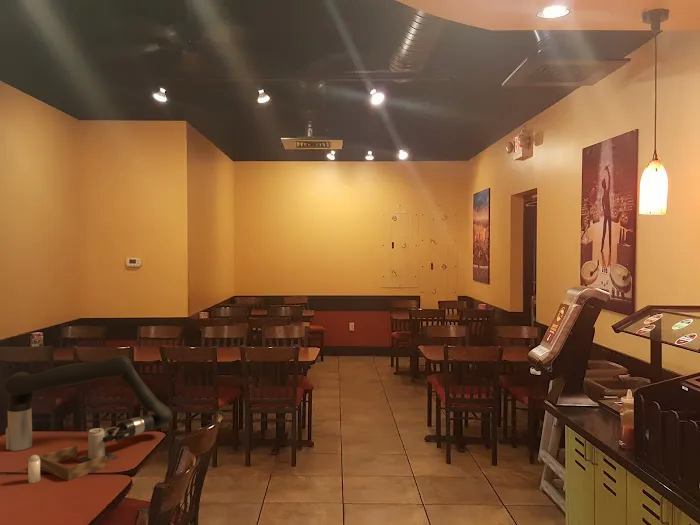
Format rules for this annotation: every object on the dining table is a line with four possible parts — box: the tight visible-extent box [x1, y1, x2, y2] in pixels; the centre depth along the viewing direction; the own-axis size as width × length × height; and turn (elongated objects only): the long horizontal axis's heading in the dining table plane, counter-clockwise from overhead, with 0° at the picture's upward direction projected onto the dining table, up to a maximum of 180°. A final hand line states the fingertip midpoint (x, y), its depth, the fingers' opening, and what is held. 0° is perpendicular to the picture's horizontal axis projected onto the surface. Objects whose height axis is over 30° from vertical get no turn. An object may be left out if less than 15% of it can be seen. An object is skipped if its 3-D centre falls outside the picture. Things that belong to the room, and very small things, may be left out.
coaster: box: [74, 451, 119, 463], centre depth 234 cm, size 12×12×1 cm
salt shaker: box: [27, 454, 41, 484], centre depth 212 cm, size 4×4×10 cm
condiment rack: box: [38, 444, 108, 481], centre depth 225 cm, size 16×22×4 cm
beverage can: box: [87, 427, 106, 460], centre depth 233 cm, size 6×6×12 cm
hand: (97, 438), depth 234 cm, fingers open, 8 cm apart
